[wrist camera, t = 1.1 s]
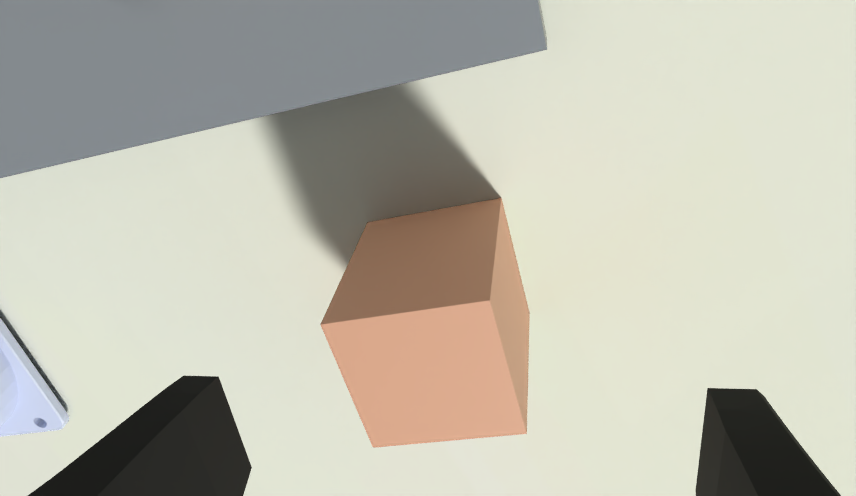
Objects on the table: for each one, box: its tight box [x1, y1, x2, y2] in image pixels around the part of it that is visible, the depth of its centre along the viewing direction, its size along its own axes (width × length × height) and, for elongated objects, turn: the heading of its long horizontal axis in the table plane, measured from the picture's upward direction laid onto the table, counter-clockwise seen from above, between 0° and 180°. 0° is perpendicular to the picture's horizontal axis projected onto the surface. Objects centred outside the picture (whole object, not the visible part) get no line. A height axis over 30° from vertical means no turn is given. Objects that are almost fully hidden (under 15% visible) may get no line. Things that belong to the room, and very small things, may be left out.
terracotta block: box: [321, 198, 529, 447], centre depth 18 cm, size 4×4×5 cm
